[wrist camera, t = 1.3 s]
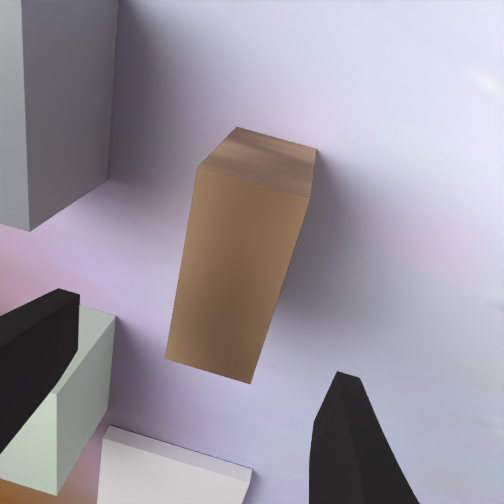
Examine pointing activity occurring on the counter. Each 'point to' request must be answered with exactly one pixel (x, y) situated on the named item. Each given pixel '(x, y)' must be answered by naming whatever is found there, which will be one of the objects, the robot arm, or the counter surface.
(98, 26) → the grey brick
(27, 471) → the sage brick
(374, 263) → the counter surface
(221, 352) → the walnut brick
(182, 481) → the white mat
